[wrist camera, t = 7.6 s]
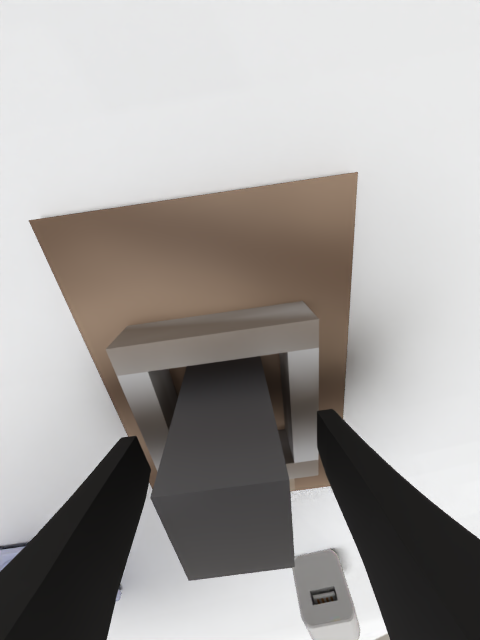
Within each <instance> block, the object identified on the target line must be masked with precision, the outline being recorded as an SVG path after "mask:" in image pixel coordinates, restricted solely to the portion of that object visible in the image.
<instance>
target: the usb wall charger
mask: <svg viewBox="0 0 480 640" xmlns="http://www.w3.org/2000/svg"><path fill="white" fill-rule="evenodd" d="M294 561H295V567H292V569H293V575H294V580H295V586H296V591H297V597H298V602H299V608H300V613H301V617H302V620H303V622H304V624H305V626H306V628H307V630H308V632H309V634H310V636H311V638H312V639H313V640H358V639H359V636H360V627H359V623H358V619H357V615H356V611H355V607H354V604H353V601H352V598H351V594H350V591H349V588H348V585H347V582H346V579H345V576H344V573H343V570H342V567H341V564H340V561H339V558H338V556H337V554H336V553H335V552H334V551H333V550H331V549H327V550H323V551H318V552H313V553H309V554H304V555H300V556H296V557H295V558H294Z"/></svg>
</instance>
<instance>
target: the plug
mask: <svg viewBox="0 0 480 640" xmlns="http://www.w3.org/2000/svg"><path fill="white" fill-rule="evenodd" d="M150 498H151V500H152V502H153V504H154V506H155V509H156V511H157V513H158V515H159V517H160V519H161V522H162V524H163V526H164V528H165V530H166V532H167V535H168V537H169V539H170V541H171V543H172V545H173V547H174V550H175V552H176V554H177V556H178V558H179V560H180V563H181V565H182V567H183V569H184V571H185V573H186V575H187V578H188V580H189V581H191V580H198V579H206V578H214V577H222V576H230V575H238V574H245V573H253V572H261V571H269V570H277V569H285V568H292V567H295V561H294V545H293V529H292V513H291V497H290V481H289V476H288V471H287V467H286V463H285V459H284V454H283V450H282V446H281V442H280V437H279V433H278V429H277V425H276V420H275V416H274V412H273V408H272V404H271V399H270V395H269V391H268V387H267V382H266V378H265V374H264V370H263V365H262V361H261V357H260V356H256V357H249V358H242V359H235V360H228V361H220V362H213V363H206V364H199V365H192V366H187V367H186V371H185V374H184V378H183V382H182V385H181V389H180V392H179V396H178V400H177V403H176V407H175V411H174V414H173V418H172V421H171V425H170V429H169V432H168V436H167V439H166V443H165V447H164V450H163V454H162V458H161V461H160V465H159V468H158V472H157V476H156V479H155V483H154V486H153V490H152V494H151V497H150Z"/></svg>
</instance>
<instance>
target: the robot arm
mask: <svg viewBox="0 0 480 640" xmlns="http://www.w3.org/2000/svg"><path fill="white" fill-rule="evenodd" d="M317 449H318V452H319V455H320V458H321V461H322V464H323V467H324V470H325V473H326V476H327V479H328V481H329V483H330V486H331V488H332V490H333V493H334V495H335V497H336V500H337V502H338V504H339V507H340V509H341V511H342V513H343V516H344V518H345V520H346V523H347V525H348V527H349V530H350V532H351V534H352V537H353V539H354V541H355V543H356V546H357V548H358V551H359V553H360V556H361V558H362V561H363V563H364V566H365V569H366V571H367V574H368V577H369V580H370V583H371V586H372V588H373V591H374V594H375V597H376V600H377V602H378V605H379V608H380V611H381V614H382V617H383V620H384V623H385V626H386V629H387V631H388V634H389V637H390V640H480V539H479V538H477V537H476V536H475V535H473V534H472V533H471V532H469V531H468V530H467V529H466V528H464V527H463V526H462V525H460V524H459V523H458V522H456V521H455V520H454V519H453V518H451V517H450V516H449V515H448V514H446V513H445V512H444V511H443V510H441V509H440V508H439V507H438V506H436V505H435V504H434V503H433V502H431V501H430V500H429V499H428V498H427V497H425V496H424V495H423V494H422V493H421V492H419V491H418V490H417V489H416V488H415V487H414V486H412V485H411V484H410V483H409V482H408V481H407V480H406V479H404V478H403V477H402V476H401V475H400V474H399V473H398V472H396V471H395V470H394V469H393V468H392V467H391V466H390V465H389V464H388V463H387V462H386V461H385V460H383V459H382V458H381V457H380V456H379V455H378V454H377V453H376V452H375V451H374V450H373V449H372V448H371V447H370V446H369V445H368V444H367V443H366V442H365V441H364V440H363V439H362V438H361V437H360V436H359V435H358V434H357V433H356V432H355V431H354V430H353V429H352V428H351V427H350V426H349V425H348V424H347V423H346V422H345V421H344V420H343V419H342V418H341V417H340V415H339V414H338V413H337V412H336V411H335V410H333V409H327V410H319V411H317ZM150 473H151V468H150V466H149V463H148V461H147V459H146V456H145V454H144V452H143V450H142V447H141V445H140V443H139V441H138V438H137V436H131V437H123V438H121V439H120V440H119V441H118V442H117V443H116V444H115V446H114V447H113V448H112V449H111V450H110V451H109V453H108V454H107V455H106V456H105V457H104V459H103V460H102V461H101V462H100V463H99V465H98V466H97V467H96V468H95V469H94V471H93V472H92V473H91V474H90V475H89V476H88V478H87V479H86V480H85V481H84V482H83V483H82V485H81V486H80V487H79V488H78V489H77V490H76V491H75V493H74V494H73V495H72V496H71V497H70V498H69V500H68V501H67V502H66V503H65V504H64V505H63V506H62V507H61V508H60V509H59V511H58V512H57V513H56V514H55V515H54V516H53V517H52V518H51V519H50V520H49V521H48V523H47V524H46V525H45V526H44V527H43V528H42V529H41V530H40V531H39V532H38V534H37V535H36V536H35V537H34V538H33V539H32V540H31V541H30V542H29V543H28V544H27V545H26V546H24V547H17V548H9V549H2V550H0V640H107V636H108V631H109V627H110V623H111V618H112V614H113V610H114V605H115V601H118V600H119V599H120V597H121V591H120V590H119V586H120V582H121V579H122V575H123V572H124V569H125V566H126V562H127V559H128V556H129V552H130V549H131V546H132V543H133V539H134V536H135V533H136V530H137V526H138V523H139V520H140V516H141V513H142V510H143V506H144V503H145V499H146V494H147V489H148V484H149V479H150Z"/></svg>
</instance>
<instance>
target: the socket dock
mask: <svg viewBox="0 0 480 640" xmlns="http://www.w3.org/2000/svg"><path fill="white" fill-rule="evenodd" d="M357 177H358V172H355V173H348V174H341V175H335V176H328V177H321V178H314V179H307V180H301V181H294V182H287V183H280V184H273V185H267V186H260V187H253V188H246V189H239V190H233V191H226V192H219V193H212V194H205V195H199V196H192V197H185V198H178V199H171V200H165V201H158V202H151V203H144V204H137V205H131V206H124V207H117V208H110V209H103V210H97V211H90V212H83V213H76V214H69V215H63V216H56V217H49V218H42V219H36V220H29V222H30V224H31V226H32V229H33V231H34V233H35V235H36V237H37V240H38V242H39V244H40V246H41V248H42V250H43V253H44V255H45V257H46V259H47V261H48V263H49V266H50V268H51V270H52V272H53V274H54V276H55V279H56V281H57V283H58V285H59V287H60V289H61V292H62V294H63V296H64V298H65V300H66V302H67V305H68V307H69V309H70V311H71V313H72V316H73V318H74V320H75V322H76V324H77V326H78V329H79V331H80V333H81V335H82V337H83V339H84V342H85V344H86V346H87V348H88V350H89V352H90V355H91V357H92V359H93V361H94V363H95V365H96V368H97V370H98V372H99V374H100V376H101V378H102V381H103V383H104V385H105V387H106V389H107V392H108V394H109V396H110V398H111V400H112V402H113V405H114V407H115V409H116V411H117V413H118V415H119V418H120V420H121V422H122V424H123V426H124V428H125V431H126V433H127V435H128V437H131V436H137V438H138V441H139V443H140V445H141V447H142V450H143V452H144V454H145V456H146V459H147V461H148V463H149V466H150V468H151V473H150V479H149V483H150V485H151V487H152V489H153V486H154V483H155V479H156V476H157V472H158V468H159V465H160V461H161V458H162V454H163V450H164V447H165V443H166V439H167V436H168V432H169V429H170V425H171V421H172V418H173V414H174V411H175V407H176V403H177V400H178V396H179V392H180V389H181V385H182V382H183V378H184V374H185V371H186V367H187V366H192V365H199V364H206V363H213V362H220V361H228V360H235V359H242V358H249V357H256V356H260V357H261V361H262V365H263V370H264V374H265V378H266V382H267V387H268V391H269V395H270V399H271V404H272V408H273V412H274V416H275V420H276V425H277V429H278V433H279V437H280V442H281V446H282V450H283V454H284V459H285V463H286V467H287V471H288V476H289V481H290V491H297V490H304V489H312V488H319V487H327V486H330V483H329V481H328V479H327V476H326V473H325V470H324V467H323V464H322V461H321V458H320V455H319V452H318V449H317V411H319V410H327V409H333V410H335V411H336V412H337V413H338V414H339V415H340V417H341V418H342V419H343V408H344V391H345V375H346V358H347V342H348V325H349V309H350V292H351V276H352V260H353V243H354V227H355V210H356V194H357Z"/></svg>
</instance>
